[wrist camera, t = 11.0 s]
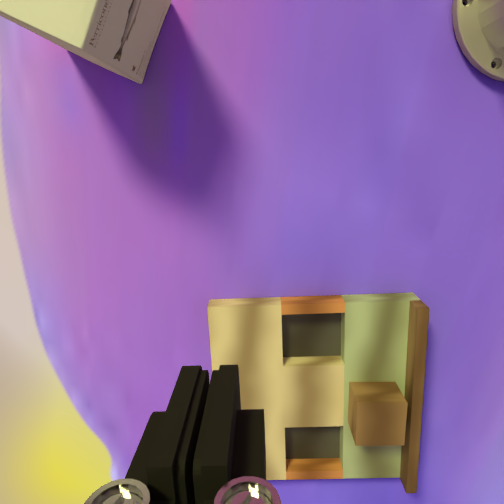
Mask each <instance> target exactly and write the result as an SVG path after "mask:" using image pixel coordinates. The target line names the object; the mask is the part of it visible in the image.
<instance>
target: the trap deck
mask: <svg viewBox="0 0 504 504" xmlns="http://www.w3.org/2000/svg"><path fill="white" fill-rule="evenodd" d="M207 309H208V322H209V334H210V347H211V360H212V372H213V370H219V367H220V365H238V367H239V382H240V399H241V410H244V409H264V420H265V445H266V480H294V479H346V478H397V477H400V479H401V482H402V484H403V486H404V489H405V491H406V493H416V491H417V477H418V463H419V448H420V434H421V420H422V406H423V392H424V378H425V363H426V349H427V335H428V321H429V308H428V307H427V306H426V305H425V304H424V303H423V302H422V301H421V300H420V299H419V298H418V297H417V296H416V295H415V294H414V293H390V294H360V295H331V296H302V297H273V298H244V299H215V300H210V301H209V304H208V307H207ZM394 381H395V382H396V384H397V385H398V387H399V389H400V391H401V392H402V394H403V396H404V398H405V399H406V401H407V403H408V406H407V418H406V430H405V442H404V446H355V442H354V439H353V436H352V433H351V430H350V427H349V423H348V403H349V382H394Z"/></svg>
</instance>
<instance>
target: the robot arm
mask: <svg viewBox="0 0 504 504" xmlns="http://www.w3.org/2000/svg"><path fill="white" fill-rule="evenodd" d="M462 1H464V2H465V6H464V5H463V4H462ZM452 16H453V27H454V31H455V35H456V39H457V41H458V44H459V46H460V48H461V50H462V52H463V54H464V55H465V56H466V58H467V59H468V60H469V62H470V63H471V64H472V65H473V66H474V67H475V68H477V69H478V70H479V71H480V72H481V73H483V74H485V75H487V76H488V77H490V78H492V79H494V80H498V81H502V82H504V0H453V5H452ZM491 63H492V64H493V68H492V67H491ZM84 504H281V500H280V497H279V494H278V492H277V490H276V489H275V488H274V487H273V485H272V484H271V483H269V482H268V481H266V445H265V420H264V409H244V410H241V399H240V382H239V367H238V365H220V367H219V370H213V372H212V376H211V381H210V384H209V373H208V370H202V367H201V366H182V368H181V371H180V374H179V377H178V379H177V382H176V385H175V388H174V390H173V393H172V396H171V399H170V401H169V404H168V407H167V410H166V411H165V412H153V413H152V414H151V416H150V419H149V421H148V423H147V426H146V428H145V431H144V433H143V436H142V438H141V440H140V443H139V445H138V448H137V450H136V453H135V455H134V457H133V460H132V462H131V465H130V467H129V470H128V472H127V474H126V477H125V479H119V480H115V481H112V482H110V483H108V484H105V485H103V486H101V487H100V488H99V489H98V490H96V491H95V492H94V493H92V495H91V496H90V497H89V498H88V499H87V500H86V502H85V503H84Z"/></svg>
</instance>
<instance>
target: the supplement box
mask: <svg viewBox="0 0 504 504" xmlns="http://www.w3.org/2000/svg"><path fill="white" fill-rule="evenodd" d="M170 4H171V0H0V16H2V17H4V18H6V19H8V20H10V21H12V22H14V23H16V24H18V25H20V26H22V27H24V28H26V29H28V30H30V31H32V32H33V33H35V34H37V35H39V36H41V37H43V38H45V39H47V40H49V41H51V42H53V43H55V44H57V45H59V46H60V47H62V48H64V49H66V50H68V51H70V52H72V53H74V54H76V55H78V56H80V57H82V58H84V59H86V60H88V61H90V62H92V63H94V64H97V65H99V66H101V67H103V68H105V69H107V70H110V71H112V72H114V73H116V74H118V75H121V76H123V77H125V78H128V79H130V80H132V81H134V82H137V83H139V84H142V83H143V79H144V76H145V73H146V70H147V66H148V63H149V60H150V57H151V54H152V51H153V48H154V46H155V43H156V40H157V37H158V35H159V32H160V29H161V27H162V24H163V21H164V19H165V16H166V14H167V11H168V9H169V6H170Z"/></svg>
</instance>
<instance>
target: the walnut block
mask: <svg viewBox="0 0 504 504" xmlns="http://www.w3.org/2000/svg"><path fill="white" fill-rule="evenodd" d="M407 406H408V403H407V401H406V399H405V398H404V396H403V394H402V392H401V391H400V389H399V387H398V385H397V384H396V382H395V381H394V382H349V403H348V423H349V427H350V430H351V433H352V436H353V439H354V442H355V446H404V442H405V430H406V418H407Z"/></svg>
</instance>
